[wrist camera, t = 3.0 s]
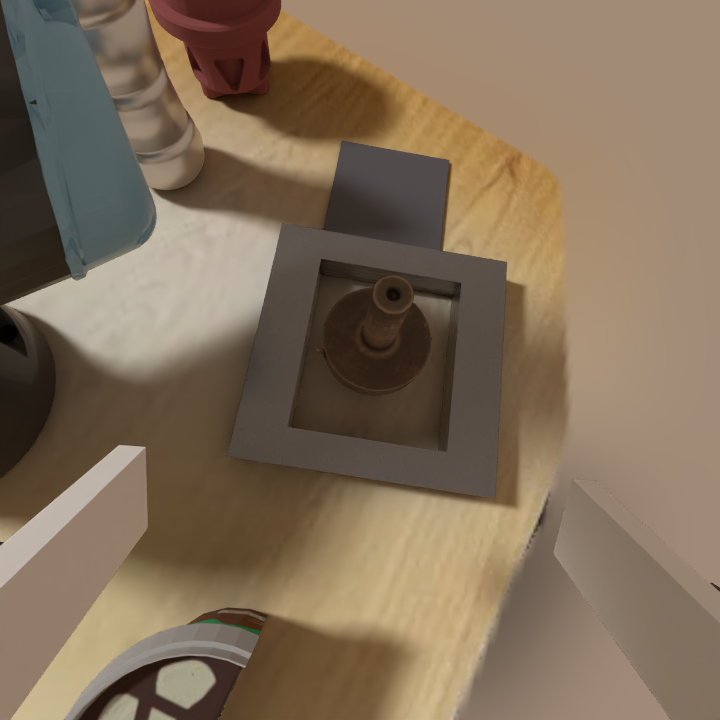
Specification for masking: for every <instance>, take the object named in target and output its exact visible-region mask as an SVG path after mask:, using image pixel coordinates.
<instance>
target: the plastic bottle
mask: <svg viewBox="0 0 720 720" xmlns="http://www.w3.org/2000/svg"><path fill="white" fill-rule="evenodd" d="M71 2H72V5H73V7H74V9H75V11H76V14H77V16H78V19H79V21H80V24H81V27H82V29H83V31H84V33H85V36H86V38H87V40H88V43H89V45H90V47H91V50H92V52H93V54H94V57H95V59H96V61H97V64H98V66H99V68H100V71H101V73H102V76H103V78H104V80H105V83H106V85H107V88H108V90H109V93H110V95H111V97H112V100H113V102H114V104H115V107H116V109H117V112H118V114H119V116H120V119H121V121H122V124H123V126H124V128H125V131H126V133H127V136H128V138H129V141H130V143H131V146H132V148H133V150H134V153H135V155H136V158H137V160H138V163H139V165H140V168H141V170H142V172H143V175H144V177H145V180H146V182H147V185H148V187H151V188H155V189H159V190H174V189H178V188H181V187H184V186H186V185H188V184H189V183H191V182H192V181H193V180H194V179H195V178H196V177H197V176H198V174H199V172H200V171H201V169H202V167H203V164H204V159H205V154H204V148H203V142H202V137H201V135H200V132H199V130H198V129H197V127H196V125H195V123H194V122H193V120H192V118H191V117H190V115H189V114H188V112H187V111H186V110H185V108H184V107H183V105H182V103H181V101H180V99H179V97H178V95H177V93H176V91H175V89H174V87H173V85H172V83H171V81H170V79H169V77H168V75H167V72H166V69H165V66H164V63H163V61H162V59H161V55H160V52H159V49H158V46H157V43H156V40H155V38H154V35H153V32H152V28H151V24H150V20H149V16H148V13H147V9H146V5H145V1H144V0H71Z"/></svg>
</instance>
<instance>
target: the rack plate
mask: <svg viewBox="0 0 720 720" xmlns="http://www.w3.org/2000/svg"><path fill="white" fill-rule="evenodd" d="M506 272H507V262H504V261H498V260H492V259H486V258H481V257H475V256H469V255H463V254H458V253H452V252H446V251H440V250H435V249H429V248H423V247H417V246H412V245H406V244H400V243H394V242H389V241H383V240H377V239H371V238H366V237H360V236H354V235H348V234H343V233H337V232H331V231H325V230H320V229H314V228H308V227H302V226H297V225H291V224H285V223H282V227H281V231H280V236H279V240H278V244H277V248H276V253H275V257H274V261H273V265H272V269H271V274H270V278H269V282H268V286H267V290H266V295H265V299H264V303H263V307H262V312H261V316H260V320H259V324H258V328H257V333H256V337H255V341H254V345H253V349H252V354H251V358H250V362H249V366H248V370H247V375H246V379H245V383H244V387H243V392H242V396H241V400H240V404H239V408H238V413H237V417H236V421H235V425H234V429H233V434H232V438H231V442H230V446H229V451H228V455H227V456H228V457H232V458H237V459H243V460H250V461H256V462H262V463H269V464H275V465H282V466H288V467H294V468H301V469H307V470H314V471H320V472H326V473H333V474H339V475H346V476H352V477H358V478H365V479H371V480H378V481H384V482H390V483H397V484H403V485H410V486H416V487H422V488H429V489H435V490H442V491H448V492H454V493H461V494H467V495H474V496H480V497H489V498H495V492H496V472H497V452H498V432H499V412H500V392H501V372H502V352H503V332H504V312H505V292H506ZM322 274H323V275H329V276H335V277H341V278H347V279H352V280H358V281H364V282H370V283H377V282H378V281H379V280H380V279H382V278H385V277H388V276H392V275H393V276H399V277H401V278H403V279H405V280H406V281H407V282H408V283H409V284H410V285H411V287H412V289H413V290H417V291H423V292H429V293H434V294H440V295H446V296H452V304H451V315H450V326H449V337H448V348H447V359H446V370H445V381H444V392H443V403H442V414H441V425H440V436H439V447H438V451H437V450H430V449H424V448H418V447H411V446H405V445H399V444H393V443H386V442H380V441H374V440H367V439H361V438H355V437H349V436H342V435H336V434H330V433H323V432H317V431H311V430H305V429H298V428H292V422H293V417H294V412H295V407H296V402H297V397H298V392H299V387H300V382H301V377H302V371H303V366H304V361H305V356H306V351H307V346H308V341H309V336H310V331H311V326H312V321H313V316H314V310H315V305H316V300H317V295H318V290H319V285H320V280H321V275H322Z"/></svg>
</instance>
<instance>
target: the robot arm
mask: <svg viewBox="0 0 720 720" xmlns="http://www.w3.org/2000/svg"><path fill="white" fill-rule="evenodd" d="M156 218H157V215H156V207H155V204H154V201H153V198H152V195H151V192H150V190H149V187H148V185H147V182H146V180H145V177H144V175H143V172H142V170H141V168H140V165H139V163H138V160H137V158H136V155H135V153H134V150H133V148H132V146H131V143H130V141H129V138H128V136H127V133H126V131H125V128H124V126H123V124H122V121H121V119H120V116H119V114H118V112H117V109H116V107H115V104H114V102H113V100H112V97H111V95H110V93H109V90H108V88H107V85H106V83H105V80H104V78H103V76H102V73H101V71H100V68H99V66H98V64H97V61H96V59H95V57H94V54H93V52H92V50H91V47H90V45H89V43H88V40H87V38H86V36H85V33H84V31H83V29H82V27H81V24H80V21H79V19H78V16H77V14H76V11H75V9H74V7H73V5H72V2H71V0H0V477H2V476H3V475H4V474H5V473H6V472H8V471H9V470H10V469H11V468H12V467H13V466H14V465H15V464H16V463H17V462H18V461H19V460H20V459H21V458H22V457H23V456H24V454H25V453H26V452H27V451H28V449H29V448H30V447H31V446H32V444H33V443H34V441H35V440H36V438H37V437H38V435H39V433H40V431H41V430H42V428H43V426H44V424H45V422H46V419H47V417H48V414H49V411H50V408H51V405H52V401H53V396H54V390H55V367H54V361H53V357H52V354H51V351H50V348H49V346H48V344H47V342H46V340H45V338H44V337H43V335H42V334H41V332H40V331H39V330H38V328H37V327H36V326H35V325H34V324H33V323H32V322H31V321H30V320H29V319H27V318H26V317H25V316H23V315H22V314H21V313H19V312H17V311H16V310H14V309H12V308H10V307H8V306H6V305H5V304H6V303H9V302H11V301H14V300H16V299H19V298H21V297H24V296H26V295H29V294H31V293H34V292H36V291H38V290H41V289H43V288H46V287H48V286H51V285H53V284H56V283H58V282H61V281H63V280H66V279H68V278H71V277H72V278H73V279H74V280H80V279H82V278H84V277H85V276H86V274H87V271H88V270H91V269H93V268H95V267H97V266H99V265H102V264H104V263H106V262H108V261H110V260H113V259H115V258H117V257H119V256H121V255H124V254H126V253H128V252H130V251H132V250H135V249H137V248H138V247H140V246H141V245H143V244H144V243H145V242H146V241H147V240H148V239H149V238H150V236H151V235H152V233H153V231H154V228H155V225H156ZM147 528H148V516H147V476H146V447H140V446H126V445H118V446H117V447H116V448H115V449H114V450H113V451H111V452H110V453H109V454H108V455H107V456H106V457H104V458H103V459H102V460H101V461H100V462H98V463H97V464H96V465H95V466H94V467H93V468H91V469H90V470H89V471H88V472H87V473H85V474H84V475H83V476H82V477H81V478H80V479H78V480H77V481H76V482H75V483H74V484H72V485H71V486H70V487H69V488H68V489H67V490H65V491H64V492H63V493H62V494H61V495H60V496H58V497H57V498H56V499H55V500H54V501H52V502H51V503H50V504H49V505H48V506H47V507H45V508H44V509H43V510H42V511H41V512H39V513H38V514H37V515H36V516H35V517H34V518H32V519H31V520H30V521H29V522H28V523H26V524H25V525H24V526H23V527H22V528H21V529H19V530H18V531H17V532H16V533H15V534H14V535H12V536H11V537H10V538H9V539H8V540H6V541H5V542H0V720H10V719H11V718H12V717H13V715H14V714H15V712H16V711H17V710H18V708H19V707H20V705H21V704H22V703H23V701H24V700H25V698H26V697H27V696H28V694H29V693H30V691H31V690H32V689H33V687H34V686H35V684H36V683H37V682H38V680H39V679H40V677H41V676H42V675H43V673H44V672H45V670H46V669H47V668H48V666H49V665H50V663H51V662H52V661H53V659H54V658H55V656H56V655H57V654H58V652H59V651H60V650H61V648H62V647H63V645H64V644H65V643H66V641H67V640H68V638H69V637H70V636H71V634H72V633H73V631H74V630H75V629H76V627H77V626H78V624H79V623H80V622H81V620H82V619H83V617H84V616H85V615H86V613H87V612H88V610H89V609H90V608H91V606H92V605H93V603H94V602H95V601H96V599H97V598H98V596H99V595H100V594H101V592H102V591H103V590H104V588H105V587H106V585H107V584H108V583H109V581H110V580H111V578H112V577H113V576H114V574H115V573H116V571H117V570H118V569H119V567H120V566H121V564H122V563H123V562H124V560H125V559H126V557H127V556H128V555H129V553H130V552H131V550H132V549H133V548H134V546H135V545H136V543H137V542H138V541H139V539H140V538H141V536H142V535H143V534H144V532H145V531H146V530H147ZM554 555H555V556H556V558H557V559H558V560H559V562H560V563H561V565H562V566H563V568H564V569H565V570H566V572H567V573H568V575H569V576H570V577H571V579H572V580H573V582H574V583H575V584H576V586H577V587H578V589H579V590H580V592H581V593H582V594H583V596H584V597H585V599H586V600H587V602H588V603H589V604H590V606H591V607H592V609H593V610H594V612H595V613H596V614H597V616H598V617H599V619H600V620H601V622H602V623H603V624H604V626H605V627H606V629H607V630H608V631H609V633H610V634H611V635H612V637H613V638H614V640H615V641H616V643H617V644H618V646H619V647H620V649H621V650H622V651H623V653H624V654H625V656H626V657H627V658H628V660H629V661H630V663H631V664H632V666H633V667H634V668H635V670H636V671H637V673H638V674H639V676H640V677H641V678H642V680H643V681H644V683H645V684H646V685H647V687H648V688H649V690H650V691H651V693H652V694H653V695H654V697H655V698H656V700H657V701H658V703H659V704H660V705H661V707H662V708H663V709H664V711H665V712H666V714H667V715H668V717H669V718H670V719H671V720H720V588H719V587H718V586H716V585H715V584H713V583H709V582H708V581H707V580H706V579H705V578H704V577H703V576H701V575H700V574H699V573H698V572H697V571H696V570H694V568H692V567H691V566H690V565H689V564H688V563H687V562H686V561H685V560H684V559H682V558H681V557H680V556H679V555H678V554H677V553H676V552H675V551H673V550H672V549H671V548H670V547H669V546H668V545H667V544H666V543H665V542H663V541H662V540H661V539H660V538H659V537H658V536H657V535H655V534H654V533H653V532H652V531H651V530H650V529H649V528H648V527H647V526H646V525H644V524H643V523H642V522H641V521H640V520H639V519H638V518H637V517H636V516H634V515H633V514H632V513H631V512H630V511H629V510H628V509H627V508H625V507H624V506H623V505H622V504H621V503H620V502H619V501H617V499H615V498H614V497H613V496H612V495H611V494H610V493H609V492H608V491H606V490H605V489H604V488H603V487H602V486H601V485H600V484H599V483H598V482H596V481H593V480H580V479H572V482H571V486H570V490H569V494H568V498H567V502H566V506H565V510H564V514H563V518H562V521H561V525H560V529H559V533H558V537H557V541H556V545H555V549H554Z"/></svg>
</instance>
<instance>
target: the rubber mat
mask: <svg viewBox="0 0 720 720" xmlns="http://www.w3.org/2000/svg"><path fill="white" fill-rule="evenodd" d="M448 168H449V160H446V159H440V158H435V157H429V156H423V155H418V154H412V153H407V152H401V151H396V150H390V149H385V148H379V147H374V146H368V145H363V144H357V143H351V142H346V141H342V143H341V148H340V153H339V158H338V163H337V168H336V173H335V177H334V182H333V187H332V192H331V197H330V202H329V207H328V212H327V217H326V222H325V227H324V230H325V231H331V232H337V233H343V234H348V235H354V236H360V237H366V238H371V239H377V240H383V241H389V242H394V243H400V244H406V245H412V246H417V247H423V248H429V249H435V250H440V244H441V234H442V225H443V215H444V206H445V196H446V187H447V177H448Z"/></svg>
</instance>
